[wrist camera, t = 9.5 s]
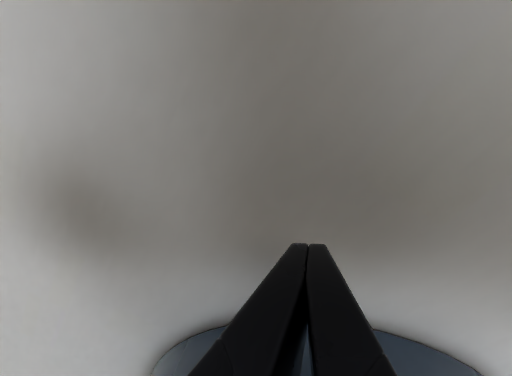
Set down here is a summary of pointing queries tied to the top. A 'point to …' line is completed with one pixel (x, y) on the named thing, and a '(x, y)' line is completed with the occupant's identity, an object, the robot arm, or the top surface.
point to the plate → (396, 349)
